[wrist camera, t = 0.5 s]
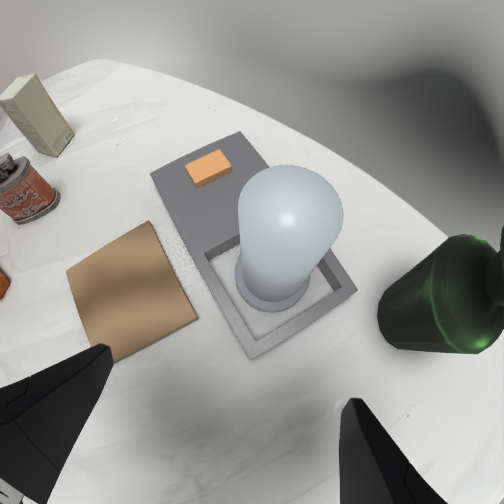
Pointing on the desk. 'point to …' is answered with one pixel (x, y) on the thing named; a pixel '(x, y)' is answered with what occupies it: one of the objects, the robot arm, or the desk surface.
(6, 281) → the kendama
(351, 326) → the desk surface
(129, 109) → the desk surface
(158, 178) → the gray switch base
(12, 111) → the skincare box
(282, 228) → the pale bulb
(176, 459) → the desk surface
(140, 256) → the coaster
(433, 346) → the potion bottle
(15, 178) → the lighter
